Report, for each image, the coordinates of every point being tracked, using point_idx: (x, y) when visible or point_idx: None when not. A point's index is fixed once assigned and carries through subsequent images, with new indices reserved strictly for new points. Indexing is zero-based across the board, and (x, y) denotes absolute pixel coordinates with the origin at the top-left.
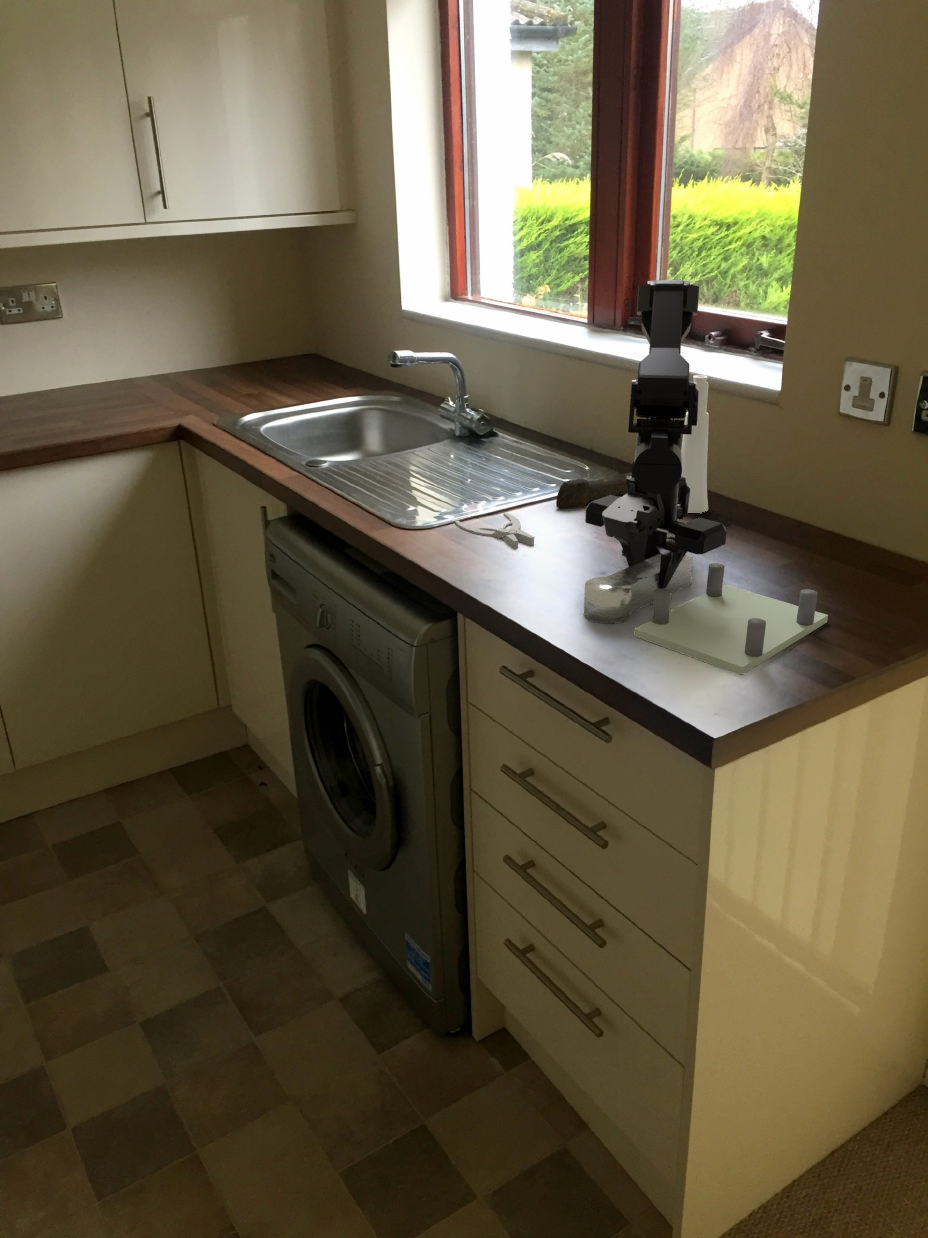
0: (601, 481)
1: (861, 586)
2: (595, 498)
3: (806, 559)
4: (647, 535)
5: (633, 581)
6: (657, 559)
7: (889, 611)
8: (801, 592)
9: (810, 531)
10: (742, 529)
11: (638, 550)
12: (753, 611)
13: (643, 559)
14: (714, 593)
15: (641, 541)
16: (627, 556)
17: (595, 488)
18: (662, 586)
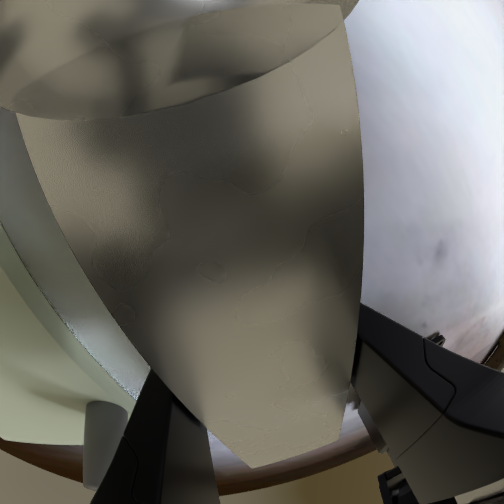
0: (500, 370)
1: None
2: (495, 353)
3: (220, 480)
4: (403, 474)
5: (71, 169)
6: (314, 419)
7: (45, 465)
8: None
9: (280, 481)
10: (337, 454)
11: (392, 414)
12: (2, 402)
13: (355, 387)
14: (85, 413)
15: (408, 452)
16: (418, 348)
17: (502, 360)
18: None
